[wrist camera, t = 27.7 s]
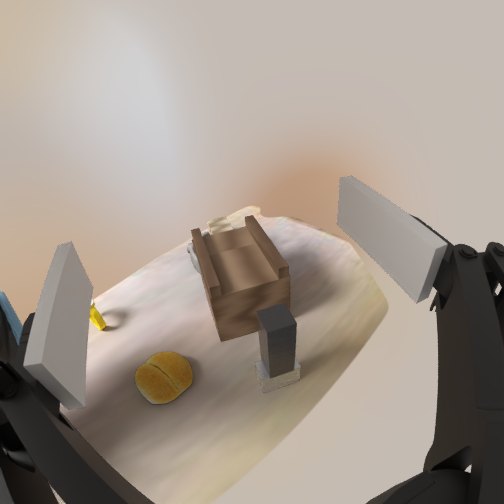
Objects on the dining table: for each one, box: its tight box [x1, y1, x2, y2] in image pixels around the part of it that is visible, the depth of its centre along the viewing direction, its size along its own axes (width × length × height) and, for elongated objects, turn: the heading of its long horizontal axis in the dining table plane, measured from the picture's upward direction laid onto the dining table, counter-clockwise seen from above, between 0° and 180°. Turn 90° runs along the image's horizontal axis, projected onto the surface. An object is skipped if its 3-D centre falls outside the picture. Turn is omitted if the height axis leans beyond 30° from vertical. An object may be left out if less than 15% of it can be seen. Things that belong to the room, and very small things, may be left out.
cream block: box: [210, 223, 233, 235], centre depth 59 cm, size 4×4×3 cm
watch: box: [90, 299, 106, 330], centre depth 49 cm, size 6×3×6 cm, turn 55°
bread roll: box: [135, 352, 193, 404], centre depth 40 cm, size 8×9×4 cm
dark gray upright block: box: [255, 302, 301, 393], centre depth 36 cm, size 6×3×14 cm, turn 108°
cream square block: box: [207, 216, 229, 235], centre depth 62 cm, size 4×4×3 cm
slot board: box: [191, 215, 290, 342], centre depth 51 cm, size 12×16×12 cm
